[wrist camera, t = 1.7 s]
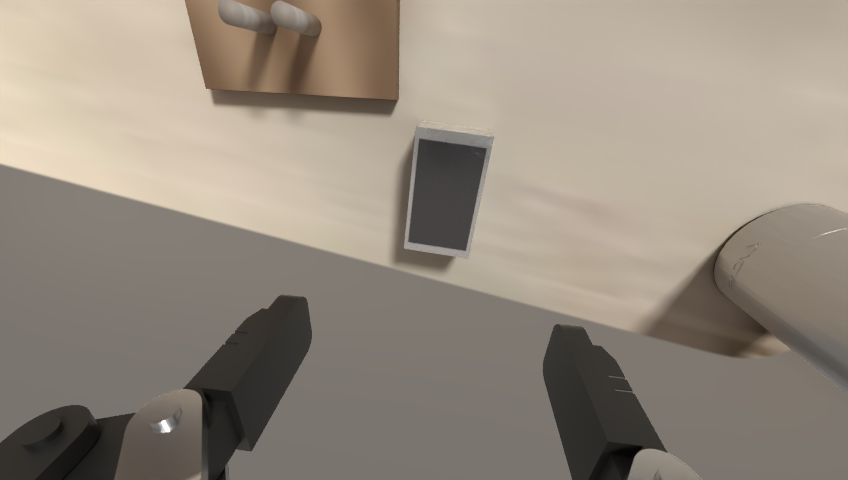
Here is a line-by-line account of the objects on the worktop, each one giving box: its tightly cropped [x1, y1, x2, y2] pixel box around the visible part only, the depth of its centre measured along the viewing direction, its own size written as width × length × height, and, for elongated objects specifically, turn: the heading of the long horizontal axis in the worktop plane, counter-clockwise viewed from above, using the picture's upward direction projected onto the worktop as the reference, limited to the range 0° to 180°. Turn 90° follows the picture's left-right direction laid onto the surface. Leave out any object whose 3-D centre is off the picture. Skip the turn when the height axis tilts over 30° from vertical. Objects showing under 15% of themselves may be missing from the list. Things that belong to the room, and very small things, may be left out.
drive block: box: [404, 120, 494, 259], centre depth 24 cm, size 5×9×4 cm, turn 173°
